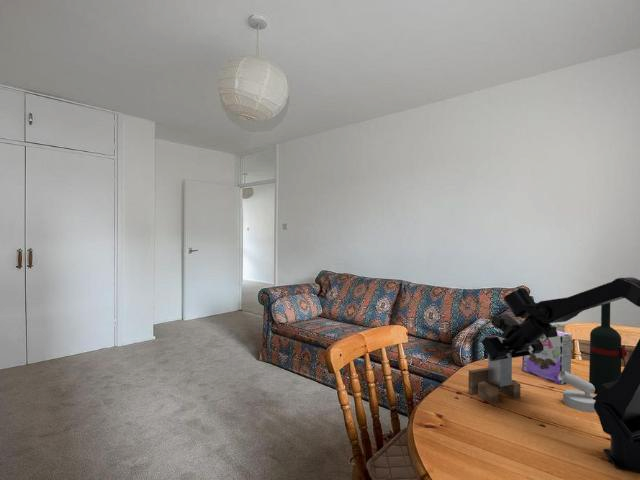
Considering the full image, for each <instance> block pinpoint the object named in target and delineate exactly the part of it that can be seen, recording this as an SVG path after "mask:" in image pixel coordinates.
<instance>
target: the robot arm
mask: <svg viewBox="0 0 640 480" xmlns="http://www.w3.org/2000/svg"><path fill="white" fill-rule="evenodd" d="M623 299H625V300H628V301H629V302H631V303H632V304H633V305H634V306H636V307H639V308H640V279H638V278H636V277H629V276H627V277H618V278H615V279H613V280H612V281H610V282H607V283H603V284H602V285H598V286H596V287H593V288H591V289H586V290H585V291H582V292H578V293H576V294H573V295H571V296H568V297H561V298H553V299H547V300H541V301H538V302H536V301H535V300H534V299H533V298H532V297H531V296H530V294H529V293H528V291H527V289H526V287H521V288H520V287H519V288H518V289H516V290H514V291H512V292H510V293H509V294H506V295H505V296H504V297H503V301H504V303H505V304H506V306H507V307H508V309H509V310H510V311H511V313H512V314H513V315H514V316H515V318H521V319H524V320H522V321H521V322H520V323H519V322H518V321H517V320H516V319H515V318H513V317H512V316H511V315H509V314H506V313H505V314H497V315H494V317H492V318H491V322H490V323H491V325H492V326H493V327H494V328H495V329H496V330H497V329H499V330H500V331H501V332H502V333H501V336H502V338H504V340H502V342H503V343H501V341H500V340H499V338H498V336H496V335H490V336H484V337H483V338H482V339H481V344H482V345H483V348H484V349H485V350H486V353H487V355H488V354H489V359H490V361H496V360H502V359H507V358H508V357H507V354H509V353H510V352H509V351H512V359H515V358H520V357H523V356H527V355H530V352H529V351H528V350H530V349H529V346H531V347H532V348H533V349H534V350H533V351H532V353H533V354H537V353H540V352H542V351H543V344H542V343H541V342H540V340H539V338H541V337H542V336H543V335H545V336H546V337H547V338H550V337H557V336H558V335H557V331H558V330H557V326H553V325H552V324H556V323H563V322H564V323H565V322H567V321H570V320H572V319H574V318H575V317H577V316H578V315H579V314H580V313H582V312H583V311H587V310H590V309H594V308H596V307H599V306H600V307H601V305H603V304H607V303H610V304H611V303H613V302H616V301H620V300H623ZM594 396H595V397H593V400H596V401H595V403H594V409H595V410H596V412H595V413H596V415H597V416H598V417H597V418H598V419H599V422H600V425H601V429H602V432H603V433H604V434H607V435H609V436H610V445H609V447H610V449H607V448H603V450H602V451H603V452H604V454H605V455H606V456H607V458H608V459H609V460H610V462H611V463H612V464H613V466H614V467H615V468H617V469H620V470H625V471H631V472H637V473H640V338H639V339H638V341H637V342H636V345H635V346H634V348H633V350H632V352H631V354H630V356H629V358H628V360H627V361H626V362H625V367H623V369H622V370H621V374H620V376H619V378H618V380H617V381H616V382H611V383H607V384H602V385H600V387H599V389H598V393H597V394H596V395H594Z"/></svg>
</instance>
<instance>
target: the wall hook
mask: <svg viewBox="0 0 640 480" xmlns="http://www.w3.org/2000/svg"><path fill="white" fill-rule="evenodd" d="M558 378H559V380H561V381H563V382H565V384H567V385H569V386H572V387H574V388H575V389H566V390H564V391H563V392H562V402H563V403H564V405H566V406H567V407H569V408H571V409H575V410H577V411H581V412H585V413H596V410H595V409H594V403H595V401H596V400H593V397H595V396H596V395H594V394H595V393H594V392H595V387H594V386H593V385H592V384H591V383H589V381H587V380H584V379H583V378H580V377H578V376H576V375H574V374H572V373H571V374H570V373H568V372H566V371H564V370H562V371H561V372H560V373H559V376H558ZM576 389H577V390H576Z"/></svg>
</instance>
